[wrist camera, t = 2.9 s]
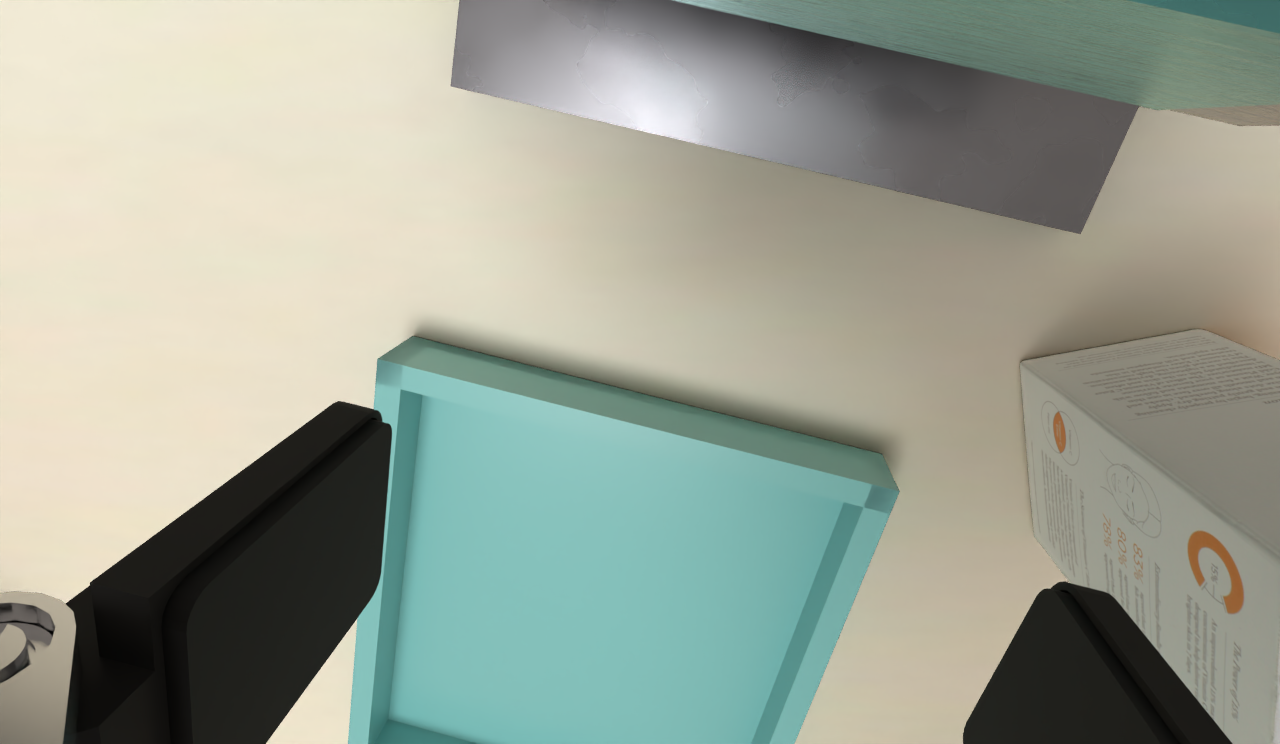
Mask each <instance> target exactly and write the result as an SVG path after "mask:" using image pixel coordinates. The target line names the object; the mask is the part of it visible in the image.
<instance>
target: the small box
mask: <svg viewBox="0 0 1280 744" xmlns="http://www.w3.org/2000/svg"><path fill="white" fill-rule="evenodd" d="M1020 373H1021V386H1022V400H1023V413H1024V425H1025V437H1026V450H1027V463H1028V475H1029V487H1030V498H1031V510H1032V519H1033V530H1034V537H1035V538H1036V540H1037V541H1038V542H1039V543H1040V544H1041V546H1042V547H1043V548H1044V549H1045V551H1046V552H1047V553H1048V555H1049V556H1050V557H1051V559H1052V560H1053V561H1054V563H1055V564H1056V565H1057V567H1058V568H1059V569H1060V571H1061V572H1062V573H1063V574H1064V576H1065V577H1066V578H1067V579H1068V581H1069V582H1070V583H1072V584H1076V585H1080V586H1084V587H1088V588H1092V589H1096V590H1100V591H1104V592H1107V593H1109V594H1111V595H1112V596H1113V597H1114V598H1115V599H1116V600H1117V601H1118V603H1119V604H1120V605H1121V606H1122V607H1123V609H1124V610H1125V611H1126V612H1127V614H1128V615H1129V616H1130V617H1131V619H1132V620H1133V621H1134V622H1135V624H1136V625H1137V626H1138V627H1139V628H1140V630H1141V631H1142V632H1143V633H1144V635H1145V636H1146V637H1147V638H1148V640H1149V641H1150V642H1151V643H1152V645H1153V646H1154V647H1155V648H1156V650H1157V651H1158V652H1159V653H1160V654H1161V656H1162V657H1163V658H1164V659H1165V661H1166V662H1167V663H1168V664H1169V666H1170V667H1171V668H1172V669H1173V671H1174V672H1175V673H1176V674H1177V675H1178V677H1179V678H1180V679H1181V680H1182V682H1183V683H1184V684H1185V685H1186V687H1187V688H1188V689H1189V690H1190V692H1191V693H1192V694H1193V695H1194V697H1195V698H1196V699H1197V700H1198V701H1199V703H1200V704H1201V705H1202V706H1203V708H1204V709H1205V710H1206V711H1207V713H1208V714H1209V715H1210V716H1211V718H1212V719H1213V720H1214V721H1215V722H1216V724H1217V725H1218V726H1219V727H1220V729H1221V730H1222V731H1223V732H1224V734H1225V735H1226V736H1227V737H1228V739H1229V740H1230V741H1231V742H1232V744H1280V360H1278V359H1276V358H1273V357H1271V356H1268V355H1266V354H1263V353H1261V352H1258V351H1256V350H1253V349H1251V348H1248V347H1246V346H1244V345H1241V344H1239V343H1236V342H1234V341H1231V340H1229V339H1226V338H1224V337H1221V336H1219V335H1217V334H1214V333H1212V332H1209V331H1206V330H1202V329H1198V330H1196V329H1193V330H1188V331H1183V332H1178V333H1173V334H1167V335H1162V336H1157V337H1151V338H1145V339H1140V340H1134V341H1129V342H1124V343H1118V344H1113V345H1107V346H1101V347H1095V348H1090V349H1084V350H1078V351H1073V352H1068V353H1062V354H1057V355H1052V356H1047V357H1041V358H1036V359H1030V360H1024V361H1022V362H1021V363H1020Z"/></svg>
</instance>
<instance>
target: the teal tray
mask: <svg viewBox="0 0 1280 744" xmlns="http://www.w3.org/2000/svg"><path fill="white" fill-rule="evenodd" d="M374 410H378V411H379V412H380V413H381V416H382V422H384V423H388V424H390V425H391V428H392V442H391V455H390V468H389V480H388V493H387V506H386V518H385V531H384V543H383V556H382V569H381V576H380V580H379V584H378V586H377V589H376V591H375V593H374V595H373V597H372V598H371V600H370V601H369V603H368V604H367V606H366V607H365V608H364V610H363V611H362V612H361V614H360V615H359V617H358V620H357V633H356V646H355V659H354V672H353V685H352V698H351V711H350V724H349V737H348V744H794V743H795V741H796V738H797V736H798V734H799V731H800V729H801V726H802V724H803V722H804V719H805V717H806V714H807V712H808V710H809V707H810V705H811V702H812V700H813V698H814V695H815V693H816V690H817V688H818V686H819V683H820V681H821V678H822V676H823V674H824V671H825V669H826V666H827V664H828V662H829V659H830V657H831V655H832V652H833V650H834V647H835V645H836V643H837V640H838V638H839V635H840V633H841V631H842V628H843V626H844V623H845V621H846V619H847V616H848V614H849V611H850V609H851V607H852V604H853V602H854V599H855V597H856V595H857V592H858V590H859V587H860V585H861V583H862V580H863V578H864V575H865V573H866V571H867V568H868V566H869V563H870V561H871V559H872V556H873V554H874V551H875V549H876V547H877V544H878V542H879V539H880V537H881V535H882V532H883V530H884V527H885V525H886V523H887V520H888V518H889V515H890V513H891V511H892V508H893V506H894V503H895V501H896V499H897V496H898V494H899V492H900V491H899V489H898V487H897V485H896V483H895V481H894V478H893V476H892V474H891V472H890V470H889V468H888V466H887V464H886V461H885V459H884V457H883V455H882V454H880V453H876V452H872V451H868V450H864V449H860V448H856V447H852V446H848V445H844V444H840V443H836V442H832V441H828V440H824V439H820V438H816V437H812V436H809V435H805V434H801V433H797V432H793V431H789V430H785V429H781V428H777V427H773V426H769V425H765V424H761V423H757V422H753V421H749V420H745V419H741V418H737V417H733V416H729V415H725V414H721V413H717V412H713V411H709V410H705V409H701V408H697V407H693V406H689V405H685V404H681V403H677V402H673V401H669V400H665V399H661V398H657V397H653V396H649V395H646V394H642V393H638V392H634V391H630V390H626V389H622V388H618V387H614V386H610V385H606V384H602V383H598V382H594V381H590V380H586V379H582V378H578V377H574V376H570V375H566V374H562V373H558V372H554V371H550V370H546V369H542V368H538V367H534V366H530V365H526V364H522V363H518V362H514V361H510V360H506V359H502V358H498V357H494V356H490V355H486V354H483V353H479V352H475V351H471V350H467V349H463V348H459V347H455V346H451V345H447V344H443V343H439V342H435V341H431V340H427V339H423V338H419V337H415V336H412V337H410V338H409V339H407V340H406V341H404V342H403V343H401V344H400V345H398V346H397V347H395V348H394V349H392V350H390V351H389V352H387V353H386V354H384V355H383V356H381V357H380V358H378V360H377V373H376V386H375V399H374Z"/></svg>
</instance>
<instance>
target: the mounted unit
mask: <svg viewBox="0 0 1280 744" xmlns="http://www.w3.org/2000/svg"><path fill="white" fill-rule="evenodd" d="M451 86H452V87H456V88H461V89H465V90H469V91H473V92H478V93H482V94H486V95H490V96H495V97H499V98H503V99H507V100H512V101H516V102H520V103H524V104H529V105H533V106H537V107H541V108H546V109H550V110H554V111H558V112H563V113H567V114H571V115H575V116H580V117H584V118H588V119H593V120H597V121H601V122H605V123H610V124H614V125H618V126H622V127H627V128H631V129H635V130H639V131H644V132H648V133H652V134H656V135H661V136H665V137H669V138H673V139H678V140H682V141H686V142H690V143H695V144H699V145H703V146H708V147H712V148H716V149H720V150H725V151H729V152H733V153H737V154H742V155H746V156H750V157H754V158H759V159H763V160H767V161H771V162H776V163H780V164H784V165H788V166H793V167H797V168H801V169H805V170H810V171H814V172H818V173H822V174H827V175H831V176H835V177H840V178H844V179H848V180H852V181H857V182H861V183H865V184H869V185H874V186H878V187H882V188H886V189H891V190H895V191H899V192H903V193H908V194H912V195H916V196H920V197H925V198H929V199H933V200H937V201H942V202H946V203H950V204H955V205H959V206H963V207H967V208H972V209H976V210H980V211H984V212H989V213H993V214H997V215H1001V216H1006V217H1010V218H1014V219H1018V220H1023V221H1027V222H1031V223H1035V224H1040V225H1044V226H1048V227H1052V228H1057V229H1061V230H1065V231H1069V232H1074V233H1078V234H1081V232H1082V229H1083V227H1084V225H1085V223H1086V221H1087V218H1088V216H1089V214H1090V212H1091V210H1092V208H1093V205H1094V203H1095V201H1096V199H1097V197H1098V194H1099V192H1100V190H1101V188H1102V186H1103V184H1104V181H1105V179H1106V177H1107V175H1108V173H1109V170H1110V168H1111V166H1112V164H1113V162H1114V159H1115V157H1116V155H1117V153H1118V151H1119V149H1120V146H1121V144H1122V142H1123V140H1124V138H1125V135H1126V133H1127V131H1128V129H1129V127H1130V124H1131V122H1132V120H1133V118H1134V116H1135V114H1136V111H1137V109H1138V107H1139V106H1142V107H1146V108H1151V109H1155V110H1171V111H1176V112H1180V113H1185V114H1189V115H1194V116H1198V117H1202V118H1207V119H1211V120H1216V121H1220V122H1225V123H1229V124H1233V125H1238V126H1279V125H1280V0H460V1H459V10H458V20H457V30H456V39H455V49H454V59H453V68H452V78H451Z"/></svg>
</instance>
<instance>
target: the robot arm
mask: <svg viewBox="0 0 1280 744" xmlns="http://www.w3.org/2000/svg"><path fill="white" fill-rule="evenodd" d="M391 442H392V428H391V425H390V424H388V423H384V422H382V416H381V413H380V412H379V411H378V410H374V409H370V408H366V407H362V406H358V405H354V404H350V403H346V402H341V401H338V402H336V403H333V404H332V405H331V406H329V407H328V408H327V409H325V410H324V411H322V412H321V413H320V414H318V415H317V416H316V417H314V418H313V419H312V420H310V421H309V422H308V423H306V424H305V425H303V426H302V427H301V428H299V429H298V430H297V431H295V432H294V433H293V434H291V435H290V436H289V437H287V438H286V439H284V440H283V441H282V442H280V443H279V444H278V445H276V446H275V447H274V448H272V449H271V450H270V451H268V452H267V453H265V454H264V455H263V456H261V457H260V458H259V459H257V460H256V461H255V462H253V463H252V464H251V465H249V466H248V467H246V468H245V469H244V470H242V471H241V472H240V473H238V474H237V475H236V476H234V477H233V478H231V479H230V480H229V481H227V482H226V483H225V484H223V485H222V486H221V487H219V488H218V489H217V490H215V491H214V492H212V493H211V494H210V495H208V496H207V497H206V498H204V499H203V500H202V501H200V502H199V503H198V504H196V505H195V506H193V507H192V508H191V509H189V510H188V511H187V512H185V513H184V514H183V515H181V516H180V517H179V518H177V519H176V520H174V521H173V522H172V523H170V524H169V525H168V526H166V527H165V528H164V529H162V530H161V531H159V532H158V533H157V534H155V535H154V536H153V537H151V538H150V539H149V540H147V541H146V542H145V543H143V544H142V545H140V546H139V547H138V548H136V549H135V550H134V551H132V552H131V553H130V554H128V555H127V556H126V557H124V558H123V559H121V560H120V561H119V562H117V563H116V564H115V565H113V566H112V567H111V568H109V569H108V570H107V571H105V572H104V573H102V574H101V575H100V576H98V577H97V578H96V579H94V580H93V581H92V582H90V586H89V587H87V588H86V589H85V590H83V591H82V592H81V593H79V594H78V595H77V596H75V597H74V598H73V599H71V600H70V601H69V602H67V603H66V604H65V603H64V602H63V601H62V600H59V599H56V598H54V597H51V596H48V595H45V594H42V593H31V592H18V591H14V592H4V593H0V744H266V742H267V741H268V740H269V738H270V737H271V736H272V734H273V733H274V732H275V730H276V729H277V727H278V726H279V725H280V723H281V722H282V721H283V719H284V718H285V716H286V715H287V714H288V712H289V711H290V710H291V708H292V707H293V706H294V704H295V703H296V701H297V700H298V699H299V697H300V696H301V695H302V693H303V692H304V690H305V689H306V688H307V686H308V685H309V684H310V682H311V681H312V680H313V678H314V677H315V675H316V674H317V673H318V671H319V670H320V669H321V667H322V666H323V664H324V663H325V662H326V660H327V659H328V658H329V656H330V655H331V654H332V652H333V651H334V649H335V648H336V647H337V645H338V644H339V643H340V641H341V640H342V638H343V637H344V636H345V634H346V633H347V632H348V630H349V629H350V627H351V626H352V625H353V623H354V622H355V621H356V619H357V618H358V617H359V615H360V614H361V612H362V611H363V610H364V608H365V607H366V606H367V604H368V603H369V601H370V600H371V598H372V597H373V595H374V593H375V591H376V589H377V586H378V584H379V580H380V576H381V569H382V556H383V543H384V531H385V518H386V506H387V493H388V480H389V468H390V455H391ZM963 744H1232V742H1231V741H1230V740H1229V739H1228V737H1227V736H1226V735H1225V734H1224V732H1223V731H1222V730H1221V729H1220V727H1219V726H1218V725H1217V724H1216V722H1215V721H1214V720H1213V719H1212V718H1211V716H1210V715H1209V714H1208V713H1207V711H1206V710H1205V709H1204V708H1203V706H1202V705H1201V704H1200V703H1199V701H1198V700H1197V699H1196V698H1195V697H1194V695H1193V694H1192V693H1191V692H1190V690H1189V689H1188V688H1187V687H1186V685H1185V684H1184V683H1183V682H1182V680H1181V679H1180V678H1179V677H1178V675H1177V674H1176V673H1175V672H1174V671H1173V669H1172V668H1171V667H1170V666H1169V664H1168V663H1167V662H1166V661H1165V659H1164V658H1163V657H1162V656H1161V654H1160V653H1159V652H1158V651H1157V650H1156V648H1155V647H1154V646H1153V645H1152V643H1151V642H1150V641H1149V640H1148V638H1147V637H1146V636H1145V635H1144V633H1143V632H1142V631H1141V630H1140V628H1139V627H1138V626H1137V625H1136V624H1135V622H1134V621H1133V620H1132V619H1131V617H1130V616H1129V615H1128V614H1127V612H1126V611H1125V610H1124V609H1123V607H1122V606H1121V605H1120V604H1119V603H1118V601H1117V600H1116V599H1115V598H1114V597H1113V596H1112V595H1111V594H1109V593H1107V592H1104V591H1100V590H1096V589H1092V588H1088V587H1084V586H1080V585H1076V584H1072V583H1068V582H1059V583H1057V584H1056V585H1054V586H1053V587H1052V588H1051V589H1044V590H1042V591H1041V592H1040V593H1039V594H1038V595H1037V597H1036V598H1035V600H1034V602H1033V604H1032V606H1031V607H1030V609H1029V611H1028V613H1027V615H1026V616H1025V618H1024V620H1023V622H1022V624H1021V625H1020V627H1019V629H1018V631H1017V633H1016V634H1015V636H1014V638H1013V640H1012V642H1011V643H1010V645H1009V647H1008V649H1007V651H1006V652H1005V654H1004V656H1003V658H1002V660H1001V661H1000V663H999V665H998V667H997V669H996V670H995V672H994V674H993V676H992V678H991V679H990V681H989V683H988V685H987V687H986V688H985V690H984V692H983V694H982V696H981V697H980V699H979V701H978V703H977V705H976V706H975V708H974V710H973V712H972V714H971V715H970V717H969V719H968V721H967V723H966V725H965V728H964V733H963Z"/></svg>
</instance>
